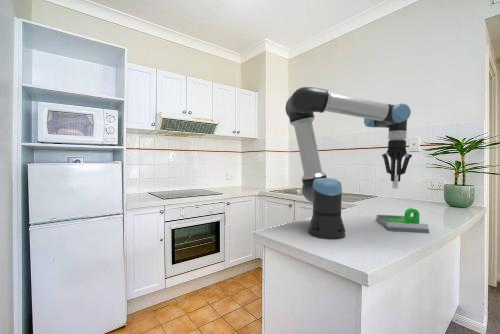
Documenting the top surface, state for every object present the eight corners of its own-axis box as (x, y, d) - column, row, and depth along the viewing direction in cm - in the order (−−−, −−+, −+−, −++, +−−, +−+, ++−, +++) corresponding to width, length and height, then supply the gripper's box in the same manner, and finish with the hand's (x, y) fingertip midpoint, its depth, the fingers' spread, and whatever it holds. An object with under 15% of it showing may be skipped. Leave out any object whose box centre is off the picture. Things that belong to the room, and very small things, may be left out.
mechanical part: (410, 222, 114) (410, 206, 114) (419, 226, 108) (419, 209, 108) (385, 222, 114) (385, 206, 114) (392, 226, 108) (393, 208, 108)
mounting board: (388, 230, 106) (388, 227, 106) (375, 220, 123) (375, 217, 123) (429, 233, 103) (429, 229, 103) (409, 222, 120) (409, 219, 120)
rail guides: (388, 227, 107) (388, 222, 106) (376, 218, 123) (376, 214, 123) (428, 229, 103) (428, 224, 103) (410, 219, 119) (410, 216, 119)
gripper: (385, 139, 113) (383, 188, 114) (415, 139, 110) (413, 189, 111) (380, 140, 120) (378, 186, 121) (408, 140, 118) (406, 188, 118)
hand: (395, 188), depth 116 cm, fingers closed
